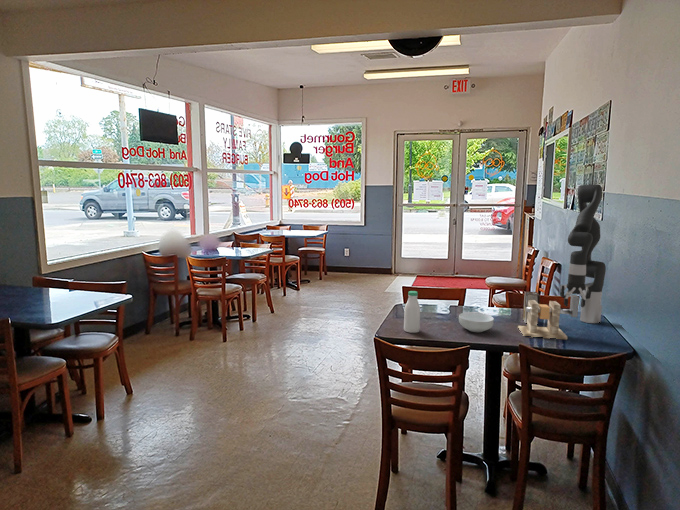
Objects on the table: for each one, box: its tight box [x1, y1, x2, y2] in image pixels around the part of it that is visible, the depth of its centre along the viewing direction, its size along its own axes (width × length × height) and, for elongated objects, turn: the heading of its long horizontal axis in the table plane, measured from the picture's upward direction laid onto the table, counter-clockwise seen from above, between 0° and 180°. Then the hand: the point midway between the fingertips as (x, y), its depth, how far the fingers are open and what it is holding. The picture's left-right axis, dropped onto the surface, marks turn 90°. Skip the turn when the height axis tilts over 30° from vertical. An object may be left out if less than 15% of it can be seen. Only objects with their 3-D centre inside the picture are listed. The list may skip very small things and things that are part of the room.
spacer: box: [538, 303, 550, 321], centre depth 242 cm, size 4×6×6 cm, turn 172°
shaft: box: [526, 294, 580, 318], centre depth 241 cm, size 23×4×10 cm, turn 82°
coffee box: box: [522, 291, 541, 324], centre depth 262 cm, size 9×6×16 cm
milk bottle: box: [403, 290, 421, 334], centre depth 243 cm, size 8×8×20 cm
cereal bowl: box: [458, 311, 495, 333], centre depth 247 cm, size 17×17×7 cm
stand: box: [517, 300, 568, 341], centre depth 242 cm, size 20×14×16 cm
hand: (574, 306), depth 239 cm, fingers open, 7 cm apart
